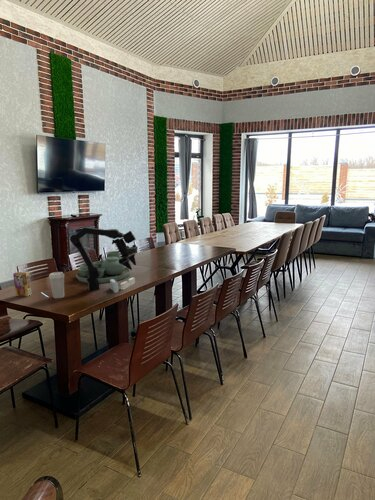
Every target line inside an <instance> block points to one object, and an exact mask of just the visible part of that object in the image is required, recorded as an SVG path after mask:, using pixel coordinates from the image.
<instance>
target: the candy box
mask: <svg viewBox="0 0 375 500" xmlns="http://www.w3.org/2000/svg"><path fill="white" fill-rule="evenodd" d="M12 275H13V283H14V292H15V297H16V296H21V297H22V296H25V297H30V296H32V295H31V294H33V293H32V285H31V277H30V271H16V272H13V274H12ZM29 295H30V296H29Z"/></svg>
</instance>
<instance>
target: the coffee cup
mask: <svg viewBox="0 0 375 500" xmlns="http://www.w3.org/2000/svg"><path fill="white" fill-rule="evenodd" d="M65 276H66V275H65V274H64V272H63V271H55V272H51V273H49V275H48V279H49V283H50V287H51V292H52V297H53V299H61V298H64V297H65Z"/></svg>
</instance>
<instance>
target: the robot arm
mask: <svg viewBox="0 0 375 500" xmlns="http://www.w3.org/2000/svg"><path fill="white" fill-rule="evenodd" d="M87 234H88V235H93V236H94V235H96V236H104V237H107V238H110V239H112V240H111V241H112V242H111V244H112V245H114V244H115V246H116V247H117V249H118V250H117V251H118V252H120V259H119V261H118V262H119V263H120V264H122V265H124V266H125V268H126V267H127V268H128V269H129V270H130V271H132V270H133V267H132V265H131V263H132V264H133V265H134V266H136V265H137V261H136V257H135V256H136V254H137V253H138V246H137V244H133V245H131V246H129V245H127V244H130V243H132V242H134V241H136V236H135V234H134V233H133V231H132V230H129V231H128V232H126V233H123V232H120V231H119V229H118V228H109V229H104V228H94V227H88V226H84V227H83V228H82V229H81V230H80V231H79V232H77V233H73V234H72V235H70V238H69V240H70V242H71V243H72V245H73V246H74V247H75V248H76V249H77V250H78V251H79V253H80V256H81V258H82V260H83V262H84V264H86V265H87V267H88V271H89V274H90V276H89V277H88V278H87V282H88V283H87V291H89V292H93V291H97V290H100V283H99V282H98V280H97V278H98V277H99V275H100V269H99V267H98V265H97V266H95V265H94V264H93V262H94V261H92V258H91V256H90V255H89V253H88V251H87V249H86V247H85V245H84V242H83V239H82V238H83V237H84V236H85V235H87ZM130 262H131V263H130Z"/></svg>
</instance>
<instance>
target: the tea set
mask: <svg viewBox="0 0 375 500" xmlns="http://www.w3.org/2000/svg"><path fill="white" fill-rule="evenodd" d="M118 251H119V250H113V251H112V250H111V251H107V252H105V254H106V258H105V260H104V259H103V258H101V259H100V260H97V261H92V262H93V264H94V265H95V266H97V265H98V267H99V269H100V275H99V277H98V278H97V280H98V282H99V284H103V283H110V280H111V279H114V280H115V281H116V282H117V281H121V280H124V279H126V278H128V277H130V276H131V270H130V269H128V268H127V267H126V266H124V265H122V264H120V263H119V262H118V261H119V259H120V258H121V253H120V252H118ZM77 270H78V273H76V274H75V277H76V279H77V280H78V281H79V282H80V283H81V282H82V283H85V284H86V283H87V284H88V282H87V278H88V277H89V276H90V274H89V271H88V267H87V265H86V263H84V264H80V265H79V268H77Z"/></svg>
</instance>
